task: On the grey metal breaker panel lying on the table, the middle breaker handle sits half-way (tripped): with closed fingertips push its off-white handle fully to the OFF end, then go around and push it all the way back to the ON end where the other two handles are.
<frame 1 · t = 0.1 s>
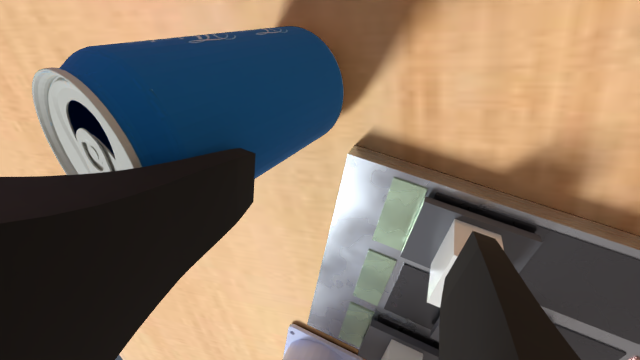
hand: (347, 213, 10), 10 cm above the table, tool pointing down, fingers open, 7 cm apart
breaker mid: (490, 357, 19), point 4 cm above the table, slide at 0.0 cm
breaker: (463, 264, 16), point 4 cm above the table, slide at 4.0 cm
beverage can: (304, 84, 19), on the table, touching gripper
panel: (486, 309, 22), on the table
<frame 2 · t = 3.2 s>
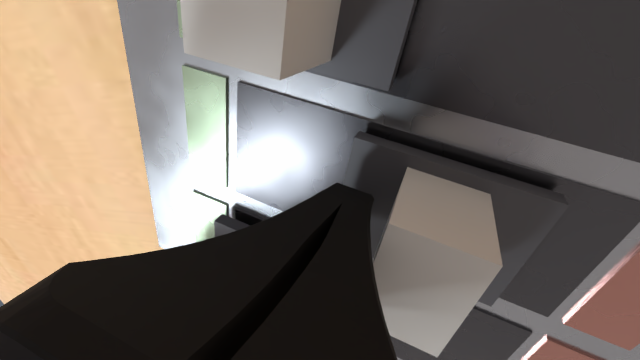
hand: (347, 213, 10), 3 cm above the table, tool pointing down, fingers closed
breaker mid: (422, 249, 9), point 4 cm above the table, slide at -1.4 cm, touching gripper
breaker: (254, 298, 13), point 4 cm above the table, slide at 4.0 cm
panel: (397, 177, 12), on the table
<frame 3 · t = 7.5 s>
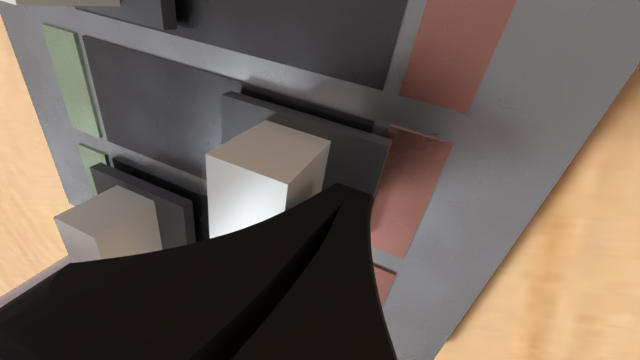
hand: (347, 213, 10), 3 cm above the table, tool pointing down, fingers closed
breaker mid: (275, 192, 10), point 4 cm above the table, slide at -4.2 cm, touching gripper
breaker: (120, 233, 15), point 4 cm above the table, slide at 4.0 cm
panel: (233, 122, 14), on the table
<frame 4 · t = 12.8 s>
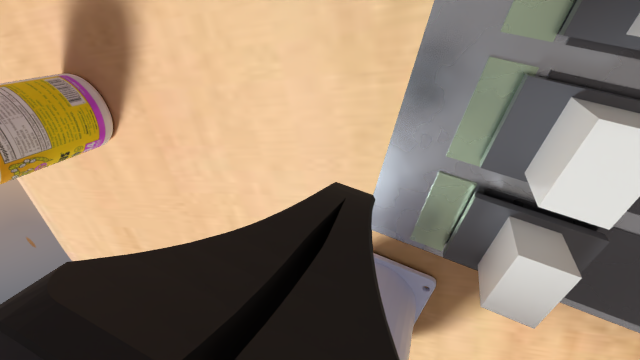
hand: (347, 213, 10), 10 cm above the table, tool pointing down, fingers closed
breaker mid: (586, 157, 12), point 4 cm above the table, slide at 4.4 cm
supplement bottle: (91, 109, 28), on the table
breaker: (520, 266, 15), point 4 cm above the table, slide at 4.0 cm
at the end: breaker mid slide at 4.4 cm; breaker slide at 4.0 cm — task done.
